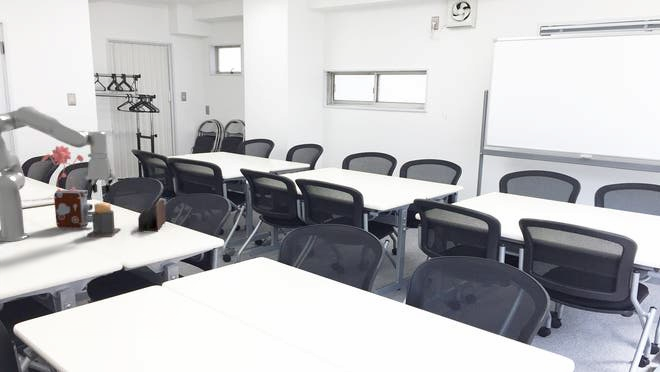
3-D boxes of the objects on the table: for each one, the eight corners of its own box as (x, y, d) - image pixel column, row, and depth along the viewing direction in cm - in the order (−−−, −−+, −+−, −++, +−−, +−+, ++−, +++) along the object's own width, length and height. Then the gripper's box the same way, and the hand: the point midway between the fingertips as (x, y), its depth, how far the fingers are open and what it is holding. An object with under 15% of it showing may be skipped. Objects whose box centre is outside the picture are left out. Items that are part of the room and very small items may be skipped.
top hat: (87, 236, 252) (85, 214, 250) (97, 230, 263) (95, 209, 261) (111, 236, 252) (110, 214, 250) (120, 230, 264) (119, 209, 262)
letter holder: (166, 222, 283) (164, 197, 280) (158, 231, 263) (156, 205, 261) (147, 222, 282) (146, 197, 279) (138, 232, 262) (136, 205, 260)
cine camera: (91, 229, 265) (88, 192, 262) (54, 229, 265) (51, 191, 262) (99, 225, 274) (97, 189, 271) (64, 224, 274) (61, 188, 271)
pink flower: (88, 194, 356) (84, 145, 351) (48, 199, 338) (43, 147, 333) (80, 192, 367) (75, 144, 361) (40, 197, 349) (35, 146, 343)
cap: (92, 219, 252) (91, 205, 251) (98, 216, 260) (97, 202, 259) (107, 219, 253) (106, 205, 252) (113, 216, 260) (112, 202, 259)
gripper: (78, 157, 247) (80, 193, 250) (113, 157, 248) (116, 194, 251) (84, 155, 254) (87, 191, 257) (119, 155, 255) (121, 191, 258)
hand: (101, 192), depth 254 cm, fingers open, 5 cm apart
